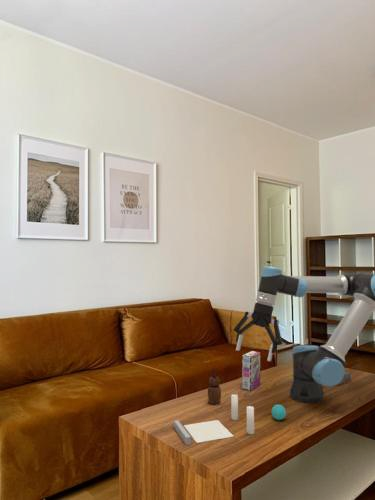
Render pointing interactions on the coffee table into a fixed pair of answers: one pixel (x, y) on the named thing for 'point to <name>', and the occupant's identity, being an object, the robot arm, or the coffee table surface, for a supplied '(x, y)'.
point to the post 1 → (234, 407)
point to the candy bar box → (250, 370)
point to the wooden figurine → (214, 389)
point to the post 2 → (250, 420)
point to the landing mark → (207, 431)
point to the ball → (278, 412)
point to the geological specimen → (346, 377)
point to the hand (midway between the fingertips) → (253, 355)
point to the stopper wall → (182, 432)
